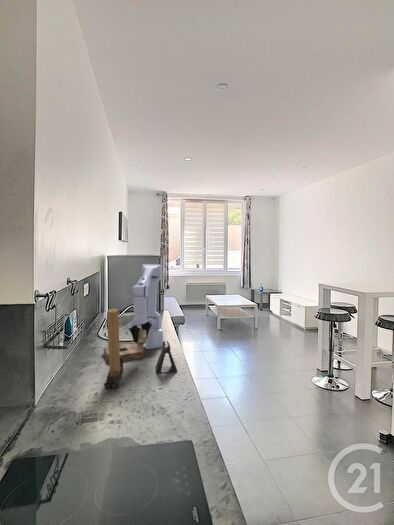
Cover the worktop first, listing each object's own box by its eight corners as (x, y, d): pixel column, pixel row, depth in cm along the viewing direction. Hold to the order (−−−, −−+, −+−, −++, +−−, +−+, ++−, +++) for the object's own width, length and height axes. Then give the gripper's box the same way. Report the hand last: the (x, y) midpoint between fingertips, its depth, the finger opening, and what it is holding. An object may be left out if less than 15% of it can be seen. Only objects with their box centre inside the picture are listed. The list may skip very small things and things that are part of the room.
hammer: (118, 396, 112) (115, 321, 105) (104, 397, 111) (100, 322, 104) (124, 366, 131) (122, 301, 124) (112, 366, 130) (110, 301, 123)
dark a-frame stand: (175, 366, 134) (175, 340, 134) (177, 372, 129) (177, 344, 128) (155, 368, 133) (155, 341, 132) (156, 373, 127) (156, 345, 126)
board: (135, 348, 158) (135, 343, 158) (143, 357, 146) (143, 351, 145) (103, 353, 150) (103, 347, 150) (109, 363, 138) (109, 356, 138)
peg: (144, 345, 142) (144, 328, 142) (147, 348, 138) (147, 331, 137) (133, 346, 140) (133, 329, 140) (136, 350, 136) (136, 332, 135)
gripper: (145, 307, 146) (145, 335, 147) (122, 312, 134) (122, 342, 135) (155, 309, 142) (155, 337, 143) (133, 314, 130) (133, 345, 131)
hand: (140, 340), depth 139 cm, fingers closed on peg, 5 cm apart
